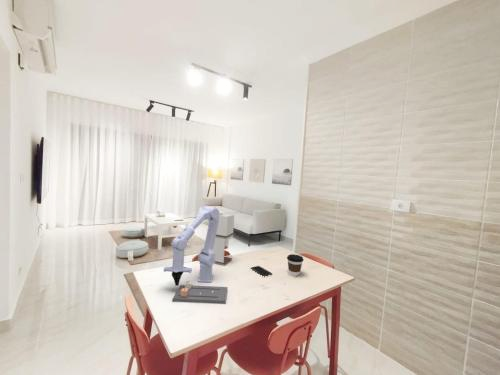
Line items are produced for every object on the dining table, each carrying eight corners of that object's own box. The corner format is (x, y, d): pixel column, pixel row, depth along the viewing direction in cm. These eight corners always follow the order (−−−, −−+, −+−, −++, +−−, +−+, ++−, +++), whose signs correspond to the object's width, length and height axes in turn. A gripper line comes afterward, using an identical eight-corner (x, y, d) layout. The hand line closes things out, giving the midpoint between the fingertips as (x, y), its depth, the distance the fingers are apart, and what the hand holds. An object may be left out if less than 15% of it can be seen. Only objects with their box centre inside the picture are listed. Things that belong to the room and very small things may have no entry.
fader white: (186, 285, 124) (186, 280, 124) (191, 286, 124) (191, 281, 124) (184, 288, 121) (185, 283, 121) (190, 288, 121) (190, 283, 121)
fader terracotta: (182, 293, 116) (182, 287, 116) (188, 293, 116) (188, 288, 116) (180, 296, 113) (180, 290, 113) (186, 296, 113) (186, 291, 113)
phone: (263, 276, 145) (249, 267, 157) (263, 277, 145) (249, 269, 157) (273, 273, 150) (258, 265, 162) (272, 275, 150) (258, 267, 162)
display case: (224, 265, 159) (227, 216, 158) (211, 263, 163) (213, 214, 161) (231, 260, 170) (234, 214, 168) (218, 258, 174) (221, 212, 172)
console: (180, 287, 125) (180, 284, 125) (227, 289, 126) (227, 286, 126) (172, 301, 111) (172, 298, 111) (225, 303, 112) (225, 300, 112)
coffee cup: (295, 279, 144) (296, 261, 144) (282, 273, 153) (283, 255, 152) (305, 275, 152) (307, 257, 151) (292, 269, 160) (293, 253, 159)
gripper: (162, 262, 117) (160, 287, 118) (190, 263, 118) (188, 289, 118) (166, 257, 124) (165, 281, 125) (193, 258, 125) (191, 282, 125)
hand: (177, 284), depth 122 cm, fingers closed
